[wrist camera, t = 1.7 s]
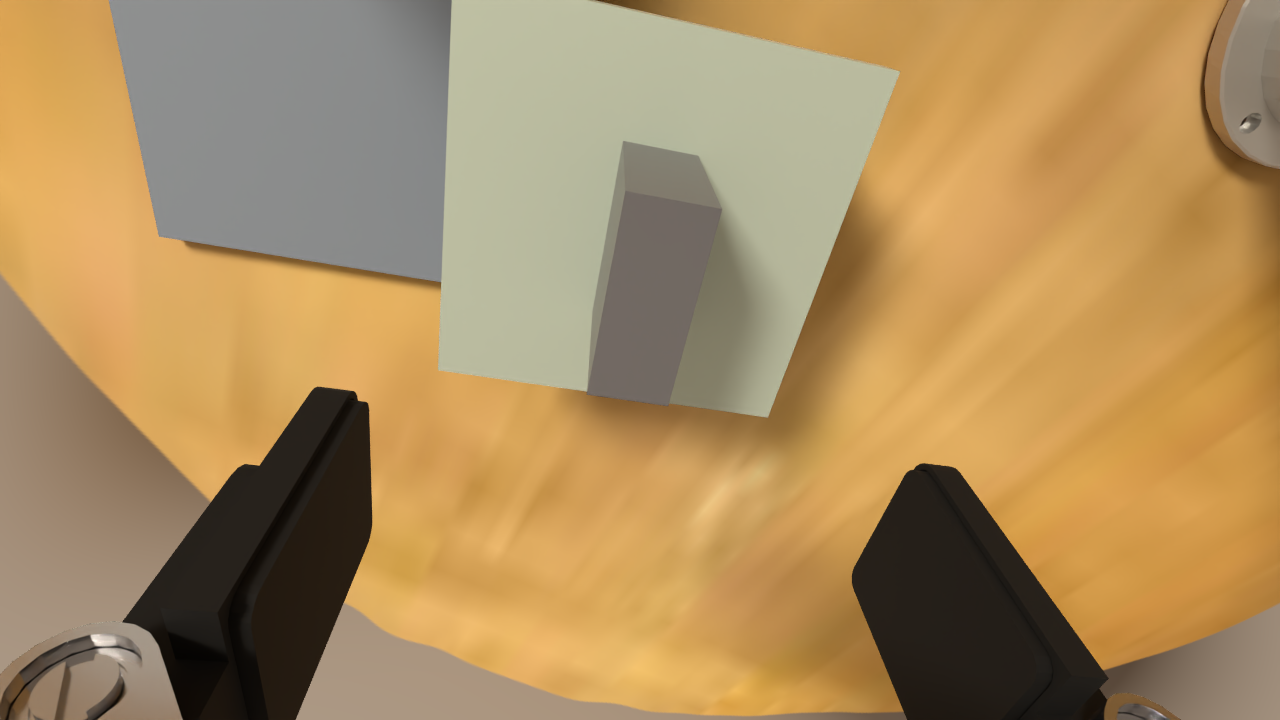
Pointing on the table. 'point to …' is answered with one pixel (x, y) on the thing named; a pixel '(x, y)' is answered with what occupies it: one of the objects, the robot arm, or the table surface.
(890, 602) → the robot arm
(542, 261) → the lid
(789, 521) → the table surface
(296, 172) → the mat
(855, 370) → the table surface
